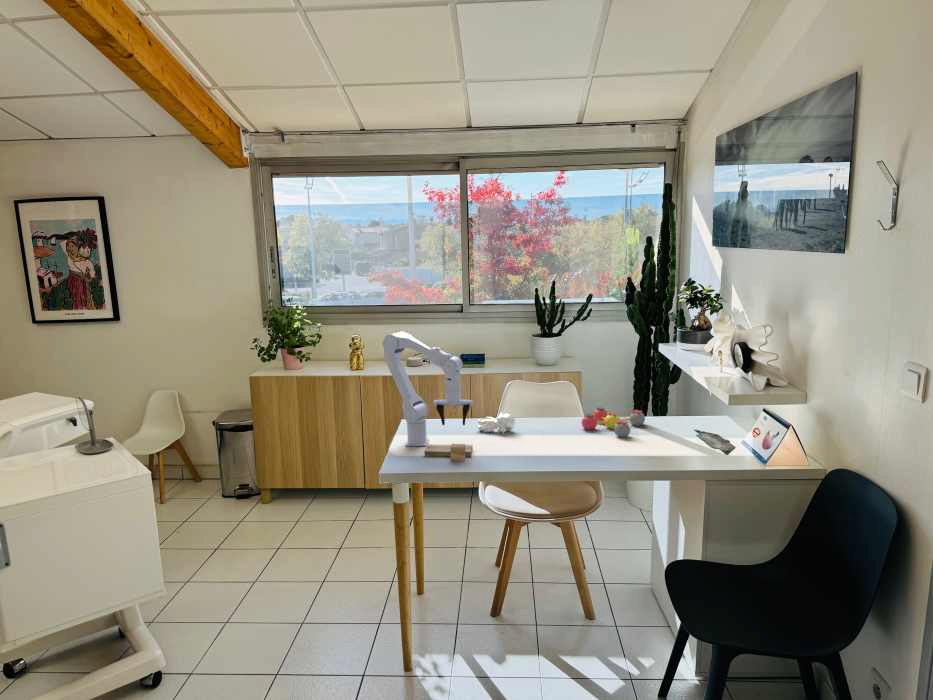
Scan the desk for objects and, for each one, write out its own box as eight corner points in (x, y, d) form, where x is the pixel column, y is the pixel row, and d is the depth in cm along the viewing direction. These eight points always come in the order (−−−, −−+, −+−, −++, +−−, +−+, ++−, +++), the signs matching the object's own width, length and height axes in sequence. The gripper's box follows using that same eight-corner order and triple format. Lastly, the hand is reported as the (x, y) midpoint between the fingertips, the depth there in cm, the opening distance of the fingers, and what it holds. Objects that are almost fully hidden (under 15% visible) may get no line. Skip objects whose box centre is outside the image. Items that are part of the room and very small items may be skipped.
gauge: (452, 454, 240) (452, 440, 239) (466, 454, 239) (465, 441, 238) (450, 460, 232) (450, 447, 231) (464, 460, 232) (464, 447, 231)
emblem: (687, 430, 265) (687, 428, 265) (711, 429, 265) (711, 428, 265) (721, 455, 233) (721, 454, 233) (748, 455, 234) (748, 453, 233)
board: (427, 449, 245) (427, 444, 245) (472, 449, 244) (472, 444, 244) (424, 456, 237) (424, 451, 237) (471, 456, 236) (471, 451, 236)
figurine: (476, 411, 268) (512, 405, 265) (481, 419, 274) (516, 414, 271) (477, 433, 262) (513, 428, 259) (482, 442, 268) (517, 436, 264)
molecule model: (627, 440, 253) (627, 424, 252) (576, 432, 264) (576, 417, 263) (646, 424, 274) (647, 410, 273) (598, 418, 285) (598, 404, 284)
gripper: (432, 391, 238) (433, 427, 241) (471, 391, 237) (472, 427, 240) (434, 387, 245) (435, 422, 248) (472, 387, 244) (473, 422, 246)
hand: (453, 424), depth 244 cm, fingers open, 7 cm apart
